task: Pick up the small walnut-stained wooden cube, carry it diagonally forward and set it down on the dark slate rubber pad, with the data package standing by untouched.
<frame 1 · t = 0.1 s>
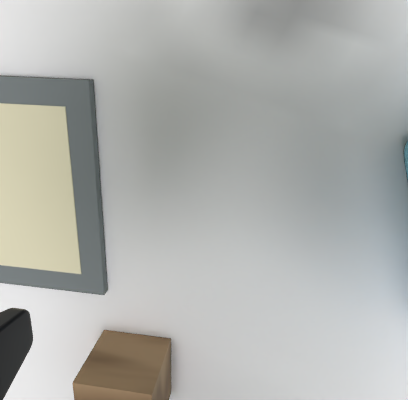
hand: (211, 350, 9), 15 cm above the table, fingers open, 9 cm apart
walnut cube: (138, 360, 29), on the table
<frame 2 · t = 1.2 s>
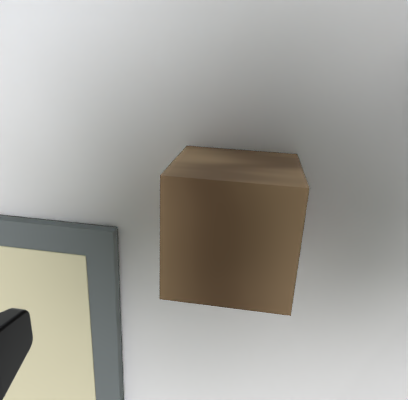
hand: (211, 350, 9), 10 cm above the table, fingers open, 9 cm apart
slate pad: (12, 348, 24), on the table
walnut cube: (237, 200, 18), on the table
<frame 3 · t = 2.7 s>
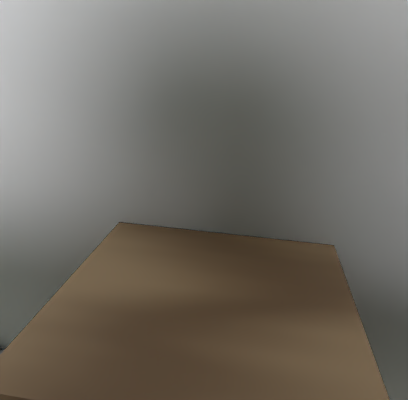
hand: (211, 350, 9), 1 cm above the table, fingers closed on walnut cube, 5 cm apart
walnut cube: (216, 322, 10), on the table, touching gripper
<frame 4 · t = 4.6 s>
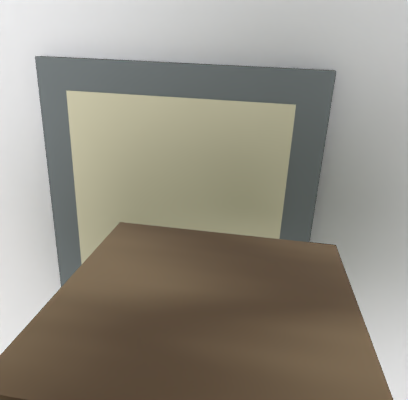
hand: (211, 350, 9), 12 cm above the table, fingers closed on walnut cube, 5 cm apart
slate pad: (177, 235, 21), on the table
walnut cube: (217, 322, 10), point 11 cm above the table, touching gripper
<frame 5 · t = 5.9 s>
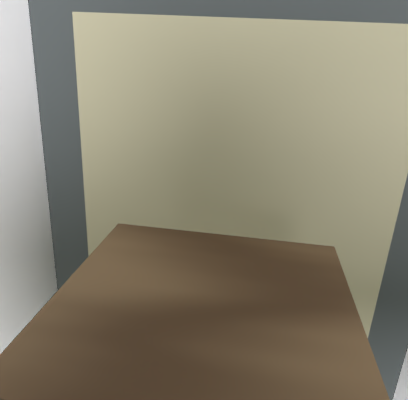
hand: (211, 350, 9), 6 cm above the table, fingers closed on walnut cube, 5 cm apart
slate pad: (230, 235, 15), on the table
walnut cube: (216, 323, 10), point 5 cm above the table, touching gripper
when the fingers open (3 cm above the table, at t = 6.9 s): walnut cube drops 1 cm, resting on slate pad.
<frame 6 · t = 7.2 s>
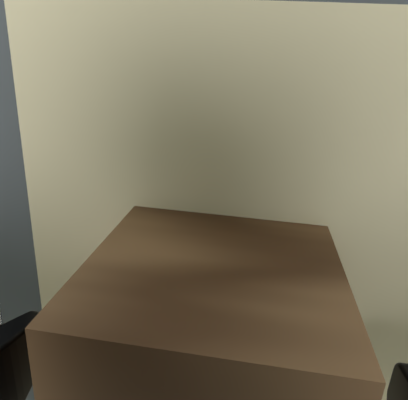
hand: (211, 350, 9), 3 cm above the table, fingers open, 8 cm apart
slate pad: (222, 285, 11), on the table
walnut cube: (221, 297, 11), point 1 cm above the table, touching slate pad
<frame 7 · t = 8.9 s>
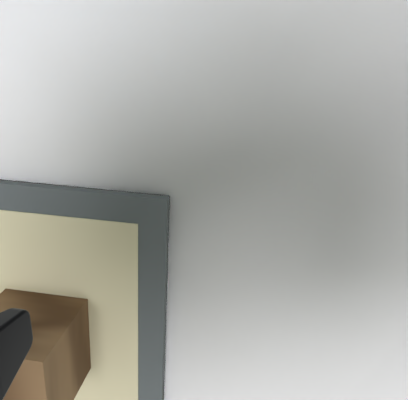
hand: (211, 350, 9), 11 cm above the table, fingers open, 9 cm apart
slate pad: (54, 322, 24), on the table
walnut cube: (49, 329, 23), point 1 cm above the table, touching slate pad
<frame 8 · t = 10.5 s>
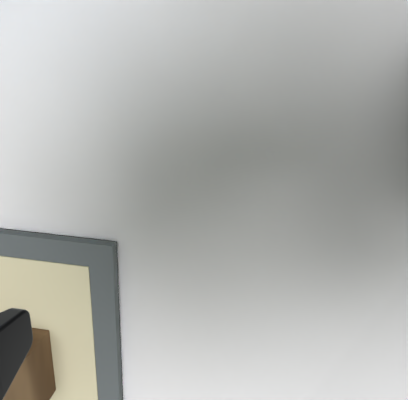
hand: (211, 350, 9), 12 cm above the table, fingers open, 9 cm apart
slate pad: (23, 348, 26), on the table
walnut cube: (17, 355, 26), point 1 cm above the table, touching slate pad
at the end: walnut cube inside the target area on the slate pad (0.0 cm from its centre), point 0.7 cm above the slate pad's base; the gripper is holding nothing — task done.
